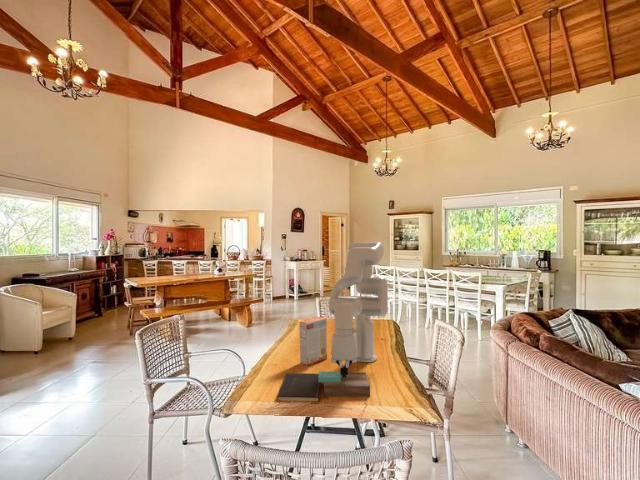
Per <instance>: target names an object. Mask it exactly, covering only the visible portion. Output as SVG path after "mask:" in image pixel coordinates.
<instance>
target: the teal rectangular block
mask: <svg viewBox="0 0 640 480" xmlns="http://www.w3.org/2000/svg"><path fill="white" fill-rule="evenodd" d="M318 374H319V375H318V382H321V383H324V382H341V374H340V371H318Z"/></svg>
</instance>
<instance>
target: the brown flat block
mask: <svg viewBox="0 0 640 480" xmlns="http://www.w3.org/2000/svg"><path fill="white" fill-rule="evenodd" d="M323 397H324V398H327V397H328V398H332V397H338V398H340V397H341V398H344V397H345V398H346V397H350V398H351V397H371V385H370V382H369V379H368V375H367V373H366V372H364V371H363V372H348V375H346V378H345V377H344V378H342V375H341V382H323Z"/></svg>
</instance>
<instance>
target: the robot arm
mask: <svg viewBox="0 0 640 480" xmlns="http://www.w3.org/2000/svg"><path fill="white" fill-rule="evenodd" d="M346 255H347V257H346V263H345V267H344V273H343V276H342V277H341V278H340V279H338V280H337V281H336V282H335V284H334V285H333V287H332V289H331V291H330V295H329V296H330V297H329V301H328V310H329V313H330V314H332V315H334V334H332V336H331V357H330V358H331V359H330V362H331V363H333V364H337V366H338V367H339V368H340V370H339V372H340V374H341V375H342V378H344V377H345V378H346V375H348V373H349V367H350V366H351V365H352V364H354V363H357V362H358V363H372V362H376V361H377V359H378V356H377V355H376V354H375V351H374V350H375V347H374V344H375V342H374V341H375V340H374V339H375V334H374V332H375V331H374V327H375V325H374V322H373V321H372V318H370V317H381V318H382V317H383V318H384V317H386V316H387V314H388V311H389V309H388V307H389V306H388V305H389V304H388V303H389V300H388V297H389V295H388V293H389V291H388V289H389V288H388V281H387V279H386V277H385V276H382V275H373V274H374V273H373V266H376V265H378V264H379V263H380V261H381V260H382V258H383V255H384V246H383V243H381V242H379V241H354V242H351V243H350V244H348V252H347V254H346ZM354 285H355V290H356V292H357V293H358V294H361V295H374V296H373V297H372V296H358V297H357V296H356V297H355V298H354V297H339V296H340V294H341V292H342V291H344V290H345V289H347V288H349V287H352V286H354ZM376 296H377V297H376ZM343 361H345V363H344V364H343Z"/></svg>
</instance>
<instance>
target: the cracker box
mask: <svg viewBox="0 0 640 480" xmlns="http://www.w3.org/2000/svg"><path fill="white" fill-rule="evenodd" d="M298 323H299V324H298V325H299V329H298V330H299V358H300V359H299V361H300V364H302V365H305V366H310V365H313V364H316V363H319V362H322V361H324V360H326V359H328V342H327V341H328V339H327V337H328V333H327V318H325V317H321V316H317V317H315V318H314V317H312V318H310V319H309V318H308V319H306V320H300V321H299V322H298Z"/></svg>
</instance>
